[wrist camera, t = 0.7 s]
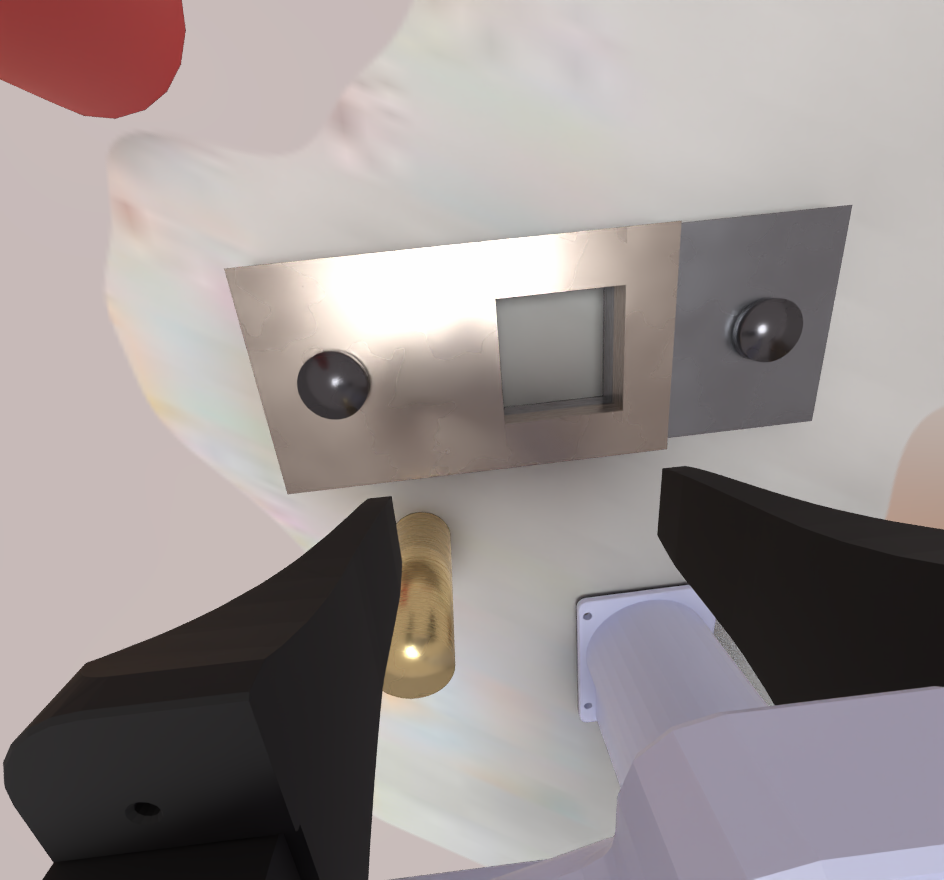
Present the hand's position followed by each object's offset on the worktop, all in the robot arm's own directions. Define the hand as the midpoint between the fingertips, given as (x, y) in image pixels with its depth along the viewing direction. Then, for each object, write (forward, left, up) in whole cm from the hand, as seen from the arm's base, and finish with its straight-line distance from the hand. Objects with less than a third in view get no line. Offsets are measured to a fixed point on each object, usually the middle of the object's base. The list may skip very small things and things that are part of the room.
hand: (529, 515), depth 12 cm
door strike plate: (+3, -3, -10) cm, 10 cm away
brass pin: (-6, +4, -10) cm, 12 cm away
